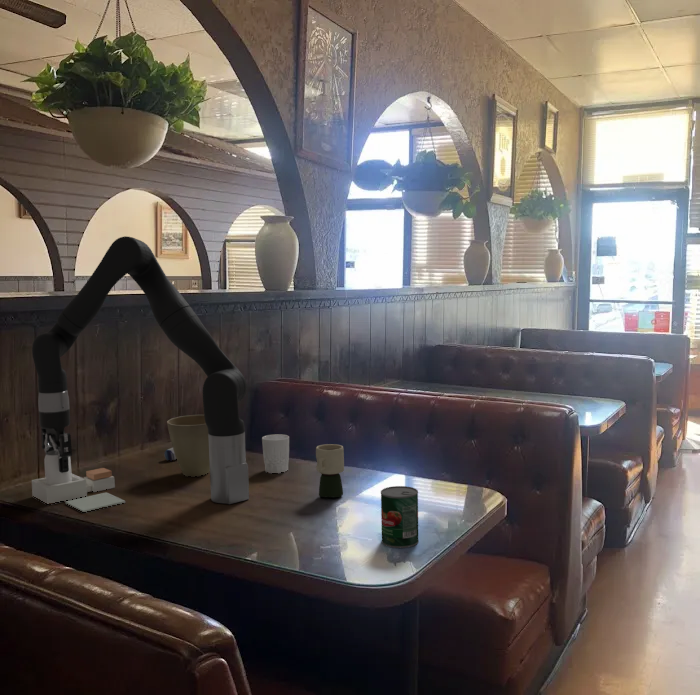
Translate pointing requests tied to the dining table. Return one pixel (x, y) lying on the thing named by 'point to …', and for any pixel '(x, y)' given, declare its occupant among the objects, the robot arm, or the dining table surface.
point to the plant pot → (190, 444)
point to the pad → (95, 502)
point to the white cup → (276, 453)
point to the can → (55, 470)
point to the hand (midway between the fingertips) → (57, 469)
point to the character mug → (330, 469)
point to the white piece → (69, 488)
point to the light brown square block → (98, 473)
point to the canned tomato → (399, 516)
